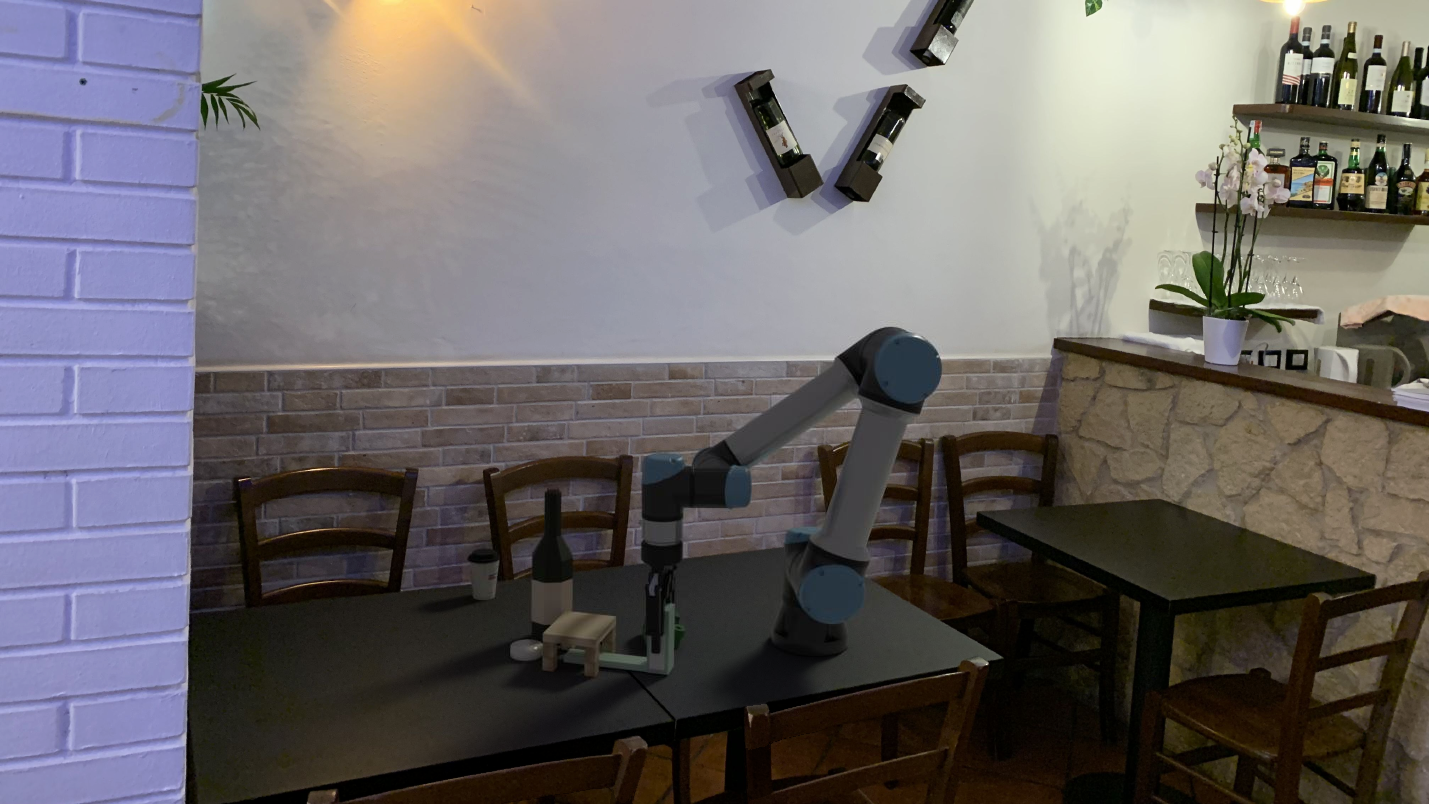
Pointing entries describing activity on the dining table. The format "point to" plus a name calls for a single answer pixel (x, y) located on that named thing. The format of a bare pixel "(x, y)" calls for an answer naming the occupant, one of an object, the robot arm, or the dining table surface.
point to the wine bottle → (551, 570)
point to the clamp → (678, 631)
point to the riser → (580, 638)
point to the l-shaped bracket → (635, 661)
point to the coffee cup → (483, 573)
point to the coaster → (526, 650)
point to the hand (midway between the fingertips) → (660, 663)
